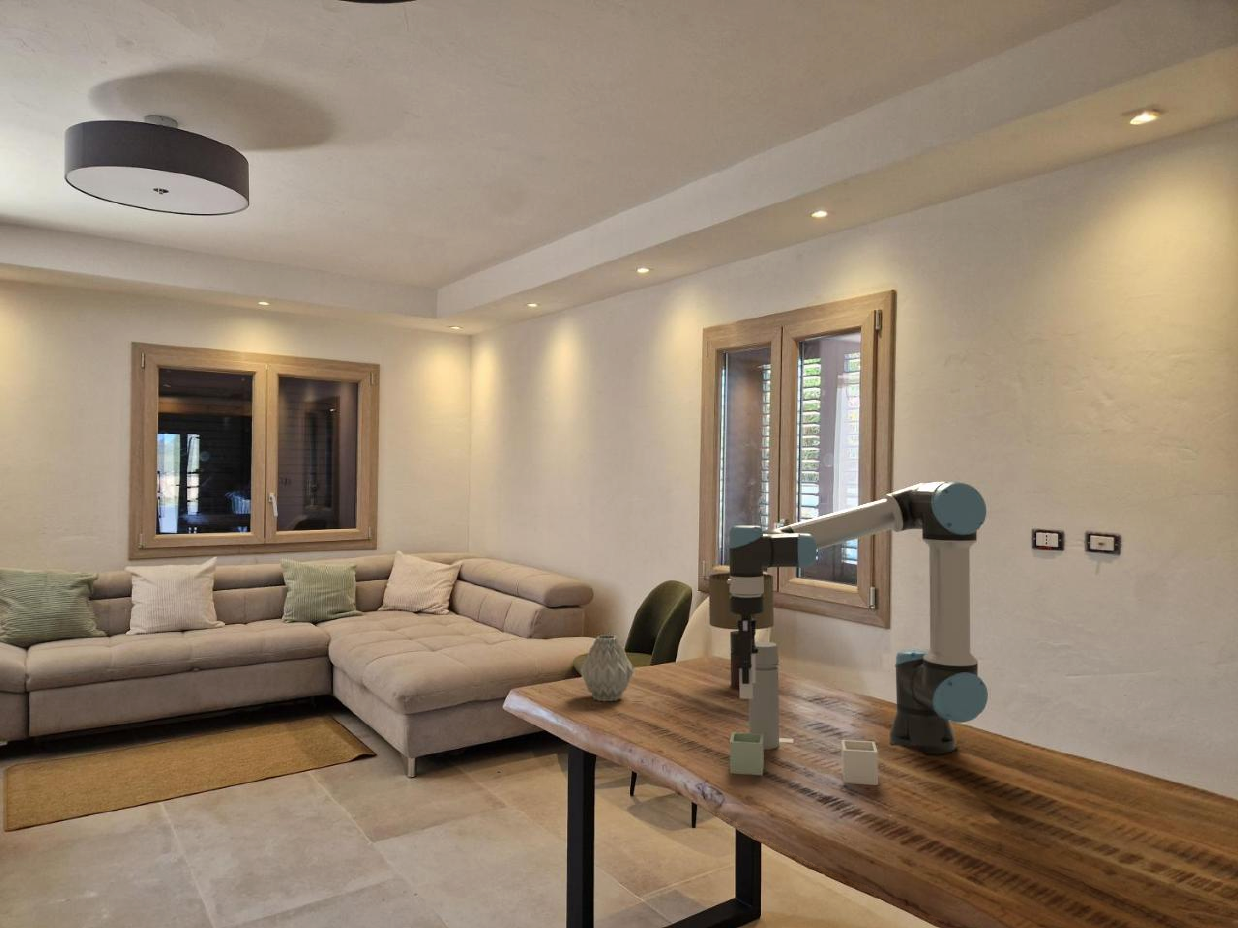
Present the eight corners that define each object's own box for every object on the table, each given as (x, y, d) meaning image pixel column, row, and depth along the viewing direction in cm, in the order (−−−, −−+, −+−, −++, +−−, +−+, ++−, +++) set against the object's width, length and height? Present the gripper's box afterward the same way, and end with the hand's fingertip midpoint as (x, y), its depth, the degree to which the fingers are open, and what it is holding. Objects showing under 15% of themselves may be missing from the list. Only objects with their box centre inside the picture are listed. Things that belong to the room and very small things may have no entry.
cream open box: (875, 778, 176) (874, 741, 176) (878, 790, 169) (877, 752, 169) (841, 776, 177) (841, 739, 177) (843, 788, 170) (843, 750, 170)
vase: (574, 693, 248) (574, 633, 248) (624, 689, 253) (624, 630, 253) (588, 707, 232) (587, 643, 233) (641, 702, 237) (641, 639, 237)
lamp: (739, 675, 269) (738, 571, 269) (787, 687, 253) (786, 576, 254) (697, 685, 256) (695, 576, 257) (744, 698, 240) (743, 581, 241)
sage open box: (763, 769, 182) (763, 733, 182) (762, 780, 175) (762, 743, 175) (732, 767, 183) (732, 732, 183) (730, 778, 176) (729, 741, 177)
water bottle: (780, 753, 191) (779, 647, 191) (747, 751, 192) (745, 646, 193) (780, 740, 200) (779, 640, 200) (748, 739, 201) (747, 639, 202)
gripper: (733, 587, 193) (735, 675, 192) (724, 602, 168) (726, 704, 168) (765, 587, 191) (767, 677, 191) (761, 603, 167) (762, 706, 166)
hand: (747, 690), depth 179 cm, fingers open, 13 cm apart
